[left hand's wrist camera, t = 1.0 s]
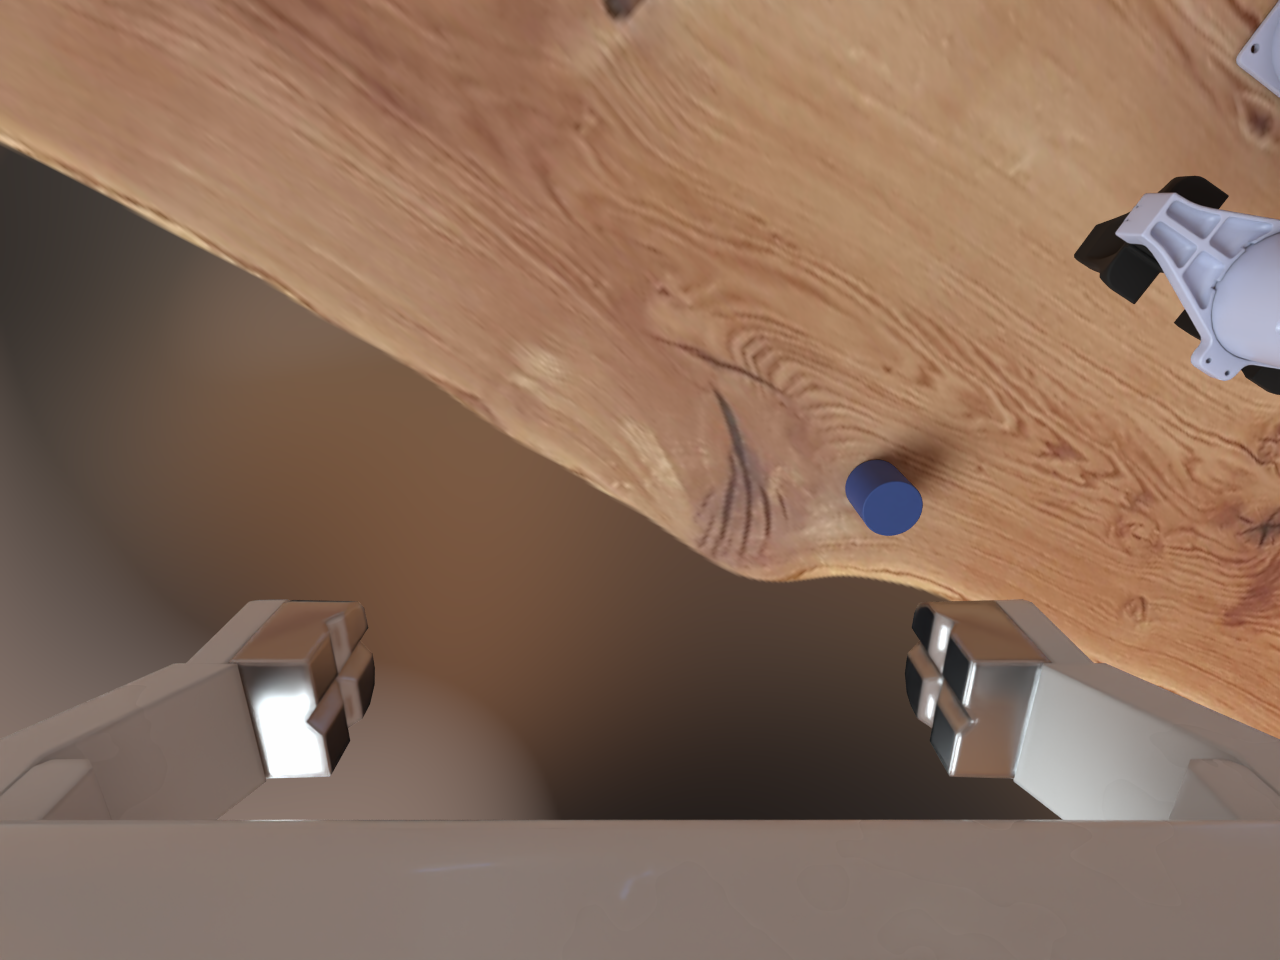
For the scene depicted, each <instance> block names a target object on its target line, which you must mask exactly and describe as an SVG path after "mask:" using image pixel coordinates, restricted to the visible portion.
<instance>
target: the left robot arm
mask: <svg viewBox="0 0 1280 960" xmlns="http://www.w3.org/2000/svg"><path fill="white" fill-rule="evenodd" d="M367 629H368V624H367V619H366V614H365V609H364V607H363V606H362V605H361V604H360V603H359V602H358V601H313V600H291V601H289V600H256V601H250V602H248V603H247V604H246V605H245V606H244V607H243V608H242V609H241V610H240V611H239V612H238V613H237V614H236V615H235V616H234V617H233V618H232V619H231V620H230V621H229V622H228V623H227V624H226V625H225V626H224V627H223V628H222V629H221V630H220V631H219V632H218V633H217V634H216V635H215V636H214V637H213V638H212V639H211V640H209V642H207V643H206V644H205V645H204V646H203V647H202V648H201V649H200V650H199V651H198V652H197V653H196V654H195V655H194V656H193V657H192V658H191V659H190V660H189V661H188V662H187V663H175V664H172V665H170V666H168V667H165V668H163V669H161V670H158V671H156V672H154V673H151V674H149V675H147V676H145V677H142V678H140V679H138V680H135V681H133V682H131V683H128V684H126V685H124V686H122V687H119V688H117V689H115V690H112V691H110V692H108V693H105V694H103V695H101V696H99V697H96V698H94V699H92V700H90V701H87V702H85V703H82V704H80V705H78V706H76V707H73V708H71V709H69V710H66V711H64V712H62V713H60V714H57V715H55V716H53V717H50V718H48V719H46V720H44V721H41V722H39V723H37V724H34V725H32V726H30V727H27V728H25V729H23V730H21V731H18V732H16V733H14V734H11V735H9V736H7V737H4V738H2V739H0V960H1280V739H1277V738H1275V737H1273V736H1271V735H1268V734H1266V733H1264V732H1261V731H1259V730H1257V729H1255V728H1252V727H1250V726H1248V725H1245V724H1243V723H1241V722H1239V721H1236V720H1234V719H1232V718H1229V717H1227V716H1225V715H1222V714H1220V713H1218V712H1216V711H1213V710H1211V709H1209V708H1206V707H1204V706H1202V705H1200V704H1197V703H1195V702H1193V701H1190V700H1188V699H1186V698H1184V697H1181V696H1179V695H1177V694H1174V693H1172V692H1170V691H1167V690H1165V689H1163V688H1161V687H1158V686H1156V685H1154V684H1151V683H1149V682H1147V681H1145V680H1142V679H1140V678H1138V677H1135V676H1133V675H1131V674H1129V673H1126V672H1124V671H1122V670H1119V669H1117V668H1115V667H1112V666H1110V665H1108V664H1106V663H1093V662H1092V661H1091V660H1090V659H1089V658H1088V657H1087V656H1086V655H1085V654H1084V653H1083V652H1082V651H1081V650H1080V649H1079V648H1078V647H1077V646H1076V645H1075V644H1074V643H1073V642H1072V641H1071V640H1070V639H1069V638H1068V637H1067V636H1066V635H1064V634H1063V633H1062V632H1061V631H1060V630H1059V629H1058V628H1057V627H1056V626H1055V625H1054V624H1053V623H1052V622H1051V621H1050V620H1049V619H1048V618H1047V617H1046V616H1045V615H1044V614H1043V613H1042V612H1041V611H1040V610H1039V609H1038V608H1037V607H1036V606H1035V605H1034V604H1033V603H1032V602H1029V601H1026V600H1023V599H1017V600H989V601H949V602H922V603H919V604H918V606H917V608H916V611H915V613H914V618H913V624H912V629H913V630H914V632H915V634H916V635H917V637H918V638H919V640H920V641H919V642H918V643H917V644H916V645H915V646H914V648H913V649H912V650H911V651H910V652H909V653H908V654H907V661H906V669H905V679H906V690H907V695H908V698H909V701H910V704H911V707H912V709H913V711H914V713H915V715H916V716H917V718H918V719H919V720H921V721H922V722H924V723H925V724H927V725H929V726H930V727H932V732H931V737H930V742H931V744H932V746H933V747H934V749H935V751H936V753H937V754H938V756H939V758H940V760H941V762H942V763H943V765H944V767H945V769H946V770H947V772H948V774H949V776H950V777H986V778H1014V782H1015V783H1017V784H1018V785H1019V786H1021V787H1022V788H1023V789H1024V790H1026V791H1027V792H1028V793H1030V794H1031V795H1032V796H1033V797H1035V798H1036V799H1037V800H1039V801H1040V802H1041V803H1042V804H1044V805H1045V806H1046V807H1048V808H1049V809H1050V810H1051V811H1053V812H1054V813H1055V814H1057V815H1058V816H1059V817H1060V818H1062V819H1063V820H217V819H218V818H220V817H221V816H222V815H224V814H225V813H226V812H227V811H229V810H230V809H231V808H233V807H234V806H235V805H236V804H238V803H239V802H240V801H242V800H243V799H244V798H246V797H247V796H248V795H249V794H251V793H252V792H253V791H254V790H256V789H257V788H258V787H260V786H261V785H262V784H264V783H265V782H266V778H293V777H328V776H331V774H332V772H333V771H334V769H335V767H336V765H337V763H338V762H339V760H340V758H341V756H342V755H343V753H344V751H345V749H346V747H347V746H348V744H349V742H350V737H349V732H348V728H349V727H350V726H352V725H353V724H355V723H356V722H358V721H359V720H361V719H362V718H363V716H364V714H365V713H366V711H367V709H368V707H369V705H370V702H371V697H372V693H373V689H374V684H375V667H374V660H373V654H372V653H371V652H370V651H369V650H368V649H367V648H366V647H365V645H364V644H363V643H362V642H361V641H360V640H361V638H362V637H363V635H364V633H365V632H366V630H367Z"/></svg>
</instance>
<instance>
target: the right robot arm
mask: <svg viewBox="0 0 1280 960" xmlns="http://www.w3.org/2000/svg"><path fill="white" fill-rule="evenodd" d="M1252 46H1254V52H1253V53H1252V52H1251V48H1252ZM1236 61H1237V64H1238V66H1240V67H1241V68H1242V69H1243V70H1245V71H1246V72H1247V73H1249V74H1250V75H1251V76H1252V77H1254V78H1255V79H1256V80H1258V81H1259V82H1260V83H1261V84H1263V85H1264V86H1265V87H1267V88H1268V89H1269V90H1270V91H1272V92H1273V93H1274V94H1275V95H1277V96H1278V97H1279V98H1280V0H1279V1H1278V2H1277V4H1276V5H1275V6H1274V8H1273V9H1272V10H1271V12H1270V13H1269V14H1268V16H1267V17H1266V18H1265V19H1264V21H1263V22H1262V23H1261V25H1260V26H1259V27H1258V29H1257V30H1256V31H1255V33H1254V34H1253V35H1252V37H1251V38H1250V39H1249V41H1248V42H1247V43H1246V45H1245V46H1244V47H1243V48H1242V50H1241V51H1240V52H1239V54H1238V56H1237V59H1236ZM1228 197H1229V196H1228V195H1227V194H1226V193H1224V192H1223V191H1221V190H1220V189H1219V188H1217V187H1216V186H1214V185H1213V184H1212V183H1210V182H1209V181H1207V180H1206V179H1204V178H1202V177H1200V176H1184V177H1176V178H1174V179H1172V180H1171V181H1170V182H1169V183H1168V184H1167V185H1166V186H1165V187H1164V188H1163V189H1162V190H1160V191H1159V192H1158V193H1146V194H1144V195H1143V197H1142V198H1141V199H1140V201H1139V202H1138V203H1137V205H1136V206H1135V207H1134V208H1133V209H1132V211H1131V212H1129V213H1127V214H1124V215H1122V216H1120V217H1117V218H1114V219H1112V220H1109V221H1106V222H1103V223H1101V224H1098V225H1096V226H1095V227H1094V229H1093V230H1092V231H1091V233H1090V234H1089V235H1088V237H1087V238H1086V239H1085V241H1084V242H1083V243H1082V245H1081V246H1080V247H1079V249H1078V250H1077V251H1076V253H1075V254H1074V258H1075V259H1076V260H1078V261H1079V262H1080V263H1082V264H1084V265H1085V266H1087V267H1088V268H1090V269H1092V270H1094V271H1096V272H1099V273H1100V278H1101V280H1102V281H1103V282H1104V283H1105V284H1106V285H1107V286H1108V287H1109V288H1110V289H1112V290H1113V291H1115V292H1116V293H1118V294H1119V295H1121V296H1122V297H1124V298H1125V299H1127V300H1128V301H1130V302H1131V303H1133V304H1135V303H1136V302H1137V301H1138V299H1139V298H1140V297H1141V296H1142V294H1143V293H1144V292H1145V291H1146V289H1147V288H1148V287H1149V286H1150V284H1151V283H1152V282H1153V280H1154V279H1155V278H1156V277H1157V275H1158V274H1159V273H1160V272H1161V273H1165V275H1166V277H1167V278H1168V280H1169V282H1170V284H1171V285H1172V287H1173V289H1174V291H1175V292H1176V294H1177V296H1178V298H1179V299H1180V301H1181V303H1182V305H1183V306H1184V308H1185V310H1184V311H1183V312H1182V313H1181V315H1180V316H1179V317H1178V318H1177V319H1176V321H1175V322H1174V323H1175V324H1176V325H1177V326H1178V327H1180V328H1181V329H1183V330H1184V331H1186V332H1187V333H1189V334H1190V335H1192V336H1194V337H1195V338H1197V339H1199V340H1201V343H1200V345H1199V346H1198V347H1197V349H1196V350H1195V351H1194V352H1193V354H1192V356H1191V363H1192V364H1193V366H1195V367H1196V368H1198V369H1199V370H1201V371H1202V372H1204V373H1205V374H1207V375H1208V376H1210V377H1213V378H1216V379H1219V380H1223V381H1226V380H1230V379H1232V378H1233V377H1234V376H1235V375H1236V374H1237V373H1238V372H1239V371H1240V370H1242V372H1243V373H1244V375H1245V377H1246V378H1248V379H1249V380H1251V381H1252V382H1254V383H1255V384H1257V385H1258V386H1260V387H1261V388H1263V389H1264V390H1266V391H1267V392H1270V393H1273V394H1277V395H1280V220H1278V219H1272V218H1266V217H1260V216H1254V215H1249V214H1243V213H1237V212H1231V211H1225V210H1219V208H1220V207H1221V206H1222V204H1223V203H1224V202H1225V200H1226V199H1227V198H1228Z"/></svg>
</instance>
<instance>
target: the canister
mask: <svg viewBox="0 0 1280 960" xmlns="http://www.w3.org/2000/svg"><path fill="white" fill-rule="evenodd" d="M846 495H847V498H848V500H849V501H850V503H851V504H852V506H853V507H854V508H855V510H856V511H857V513H858V514H859V515H860V517H861V518H862V520H863V521H864V522H865V524H866V525H867V526H868V528H869V529H871V530H872V531H873V532H875V533H877V534H880V535H886V536H892V535H897V534H901V533H903V532H905V531H907V530H908V529H910V528H911V527H912V526H913V525H914V524H915V523H916V522H917V521H918V519H919V517H920V515H921V512H922V508H923V502H922V497H921V495H920V493H919V491H918V490H917V489H916V488H915V487H914V486H913V485H912V484H911V483H910V482H909V481H908V480H907V479H906V478H905V477H904V476H903V475H902V474H901V473H900V472H899V471H898V470H897V469H896V468H895V467H894V466H893V465H892V464H890V463H889V462H886V461H883V460H871V461H867V462H864V463H862V464H860V465H859V466H857V467H856V468H855V469H854V470H853V471H852V472H851V473H850V475H849V477H848V479H847V482H846Z"/></svg>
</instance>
